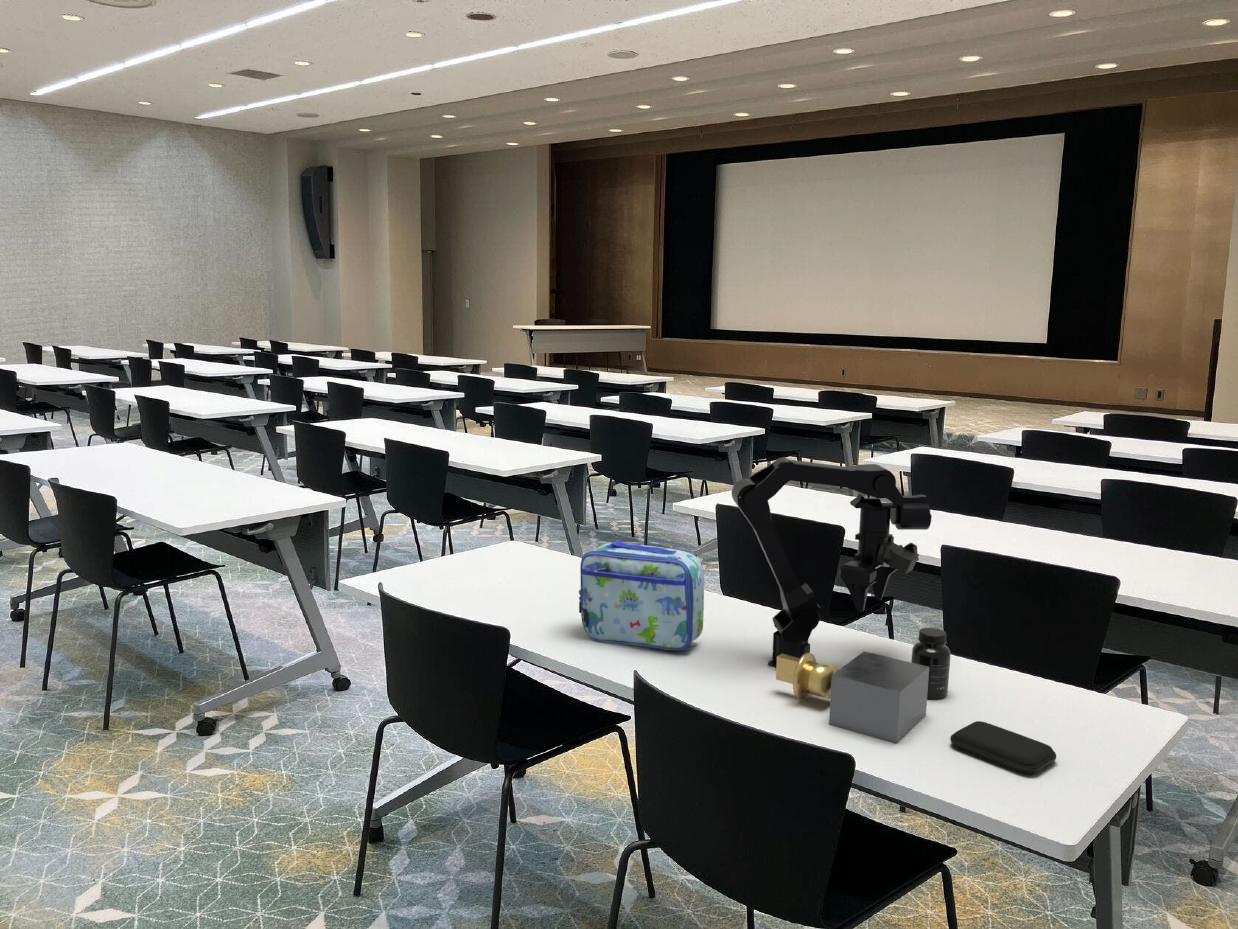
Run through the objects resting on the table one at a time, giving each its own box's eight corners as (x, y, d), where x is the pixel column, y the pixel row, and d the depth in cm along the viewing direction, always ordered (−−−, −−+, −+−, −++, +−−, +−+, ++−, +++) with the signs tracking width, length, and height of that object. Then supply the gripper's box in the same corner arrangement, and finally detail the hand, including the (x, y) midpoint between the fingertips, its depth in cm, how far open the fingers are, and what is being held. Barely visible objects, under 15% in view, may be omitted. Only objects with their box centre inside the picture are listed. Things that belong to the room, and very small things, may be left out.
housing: (829, 724, 169) (831, 674, 167) (861, 698, 180) (864, 651, 179) (896, 743, 162) (900, 692, 160) (925, 715, 173) (929, 666, 172)
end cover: (767, 697, 179) (768, 654, 178) (788, 683, 186) (790, 641, 184) (821, 713, 173) (823, 667, 171) (840, 697, 180) (843, 653, 178)
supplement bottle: (901, 688, 185) (905, 627, 183) (931, 683, 187) (935, 623, 185) (924, 702, 179) (929, 639, 176) (955, 697, 181) (960, 635, 179)
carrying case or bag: (1063, 761, 157) (978, 730, 168) (1065, 744, 157) (979, 713, 168) (1031, 782, 150) (944, 748, 161) (1033, 764, 150) (946, 731, 161)
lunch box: (573, 640, 208) (573, 544, 205) (595, 624, 218) (596, 533, 214) (688, 660, 198) (690, 559, 194) (706, 643, 207) (709, 547, 204)
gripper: (896, 545, 180) (891, 627, 183) (931, 527, 195) (925, 602, 198) (839, 536, 187) (835, 614, 189) (877, 518, 202) (872, 592, 204)
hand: (869, 606), depth 195 cm, fingers open, 9 cm apart
